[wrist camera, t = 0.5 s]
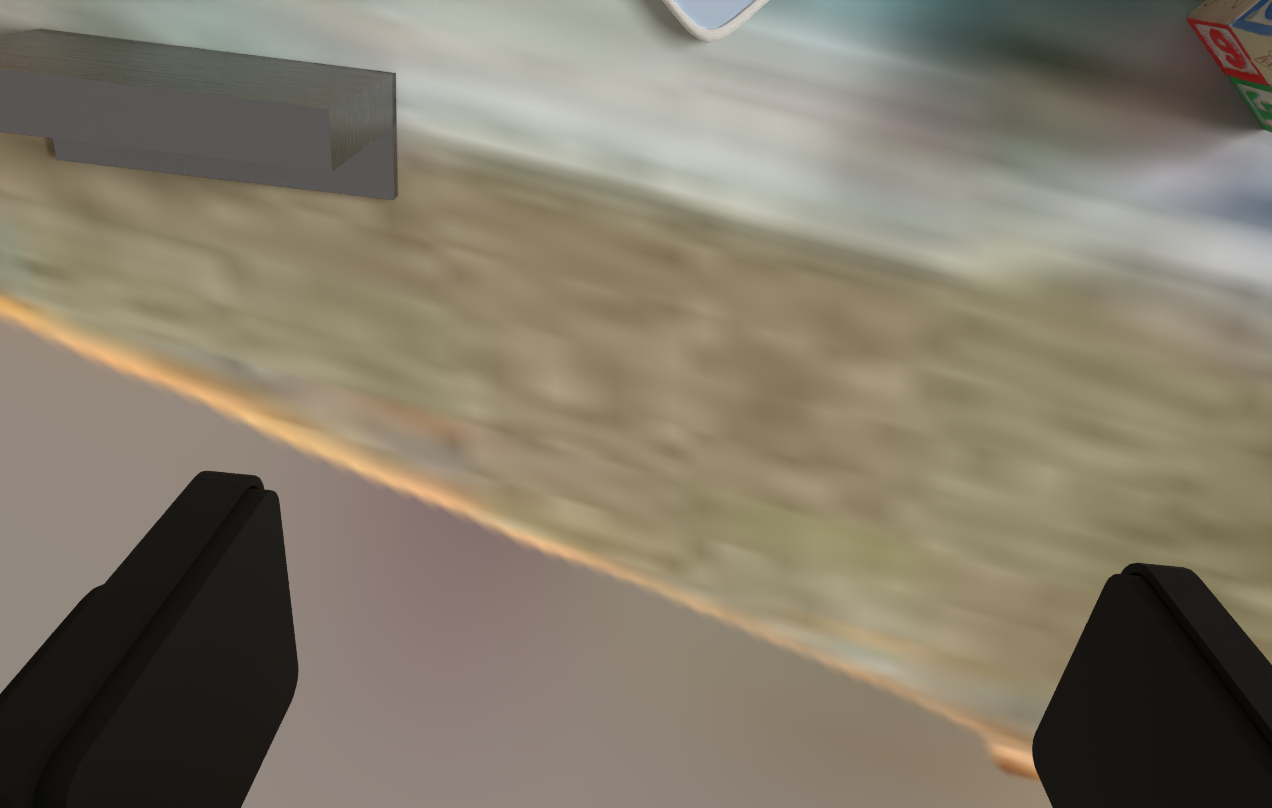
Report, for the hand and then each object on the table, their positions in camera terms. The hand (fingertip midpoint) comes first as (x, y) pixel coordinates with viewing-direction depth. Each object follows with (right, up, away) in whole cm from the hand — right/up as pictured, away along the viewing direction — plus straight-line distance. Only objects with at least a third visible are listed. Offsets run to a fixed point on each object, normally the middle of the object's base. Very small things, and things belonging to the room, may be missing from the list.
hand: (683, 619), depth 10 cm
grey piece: (-17, +14, +26) cm, 34 cm away
